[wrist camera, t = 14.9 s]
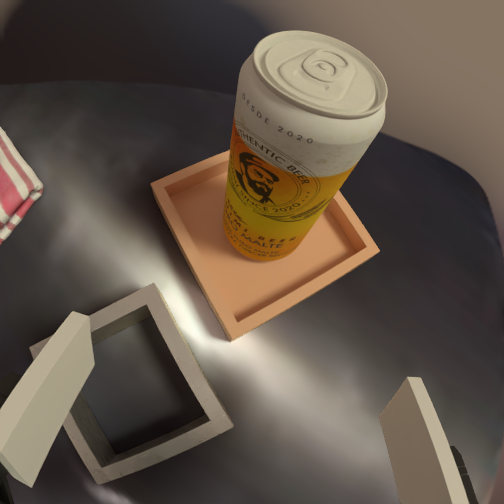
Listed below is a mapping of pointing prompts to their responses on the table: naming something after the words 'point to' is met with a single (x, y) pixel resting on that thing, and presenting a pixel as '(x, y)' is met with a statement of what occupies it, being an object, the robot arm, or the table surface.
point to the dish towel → (15, 187)
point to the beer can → (296, 137)
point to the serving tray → (244, 268)
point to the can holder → (217, 418)
